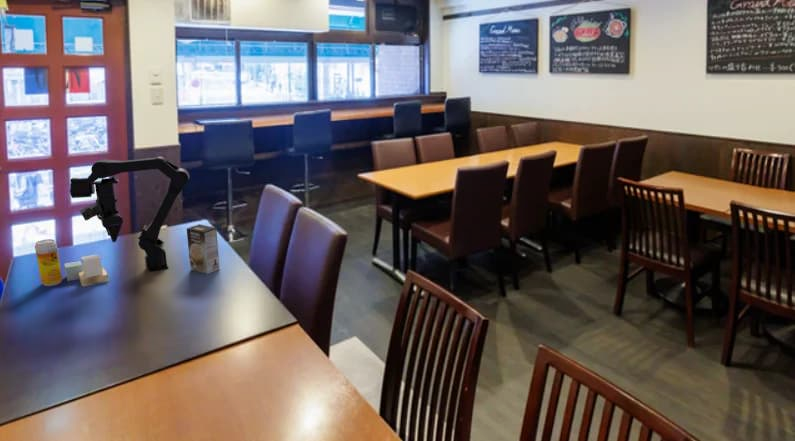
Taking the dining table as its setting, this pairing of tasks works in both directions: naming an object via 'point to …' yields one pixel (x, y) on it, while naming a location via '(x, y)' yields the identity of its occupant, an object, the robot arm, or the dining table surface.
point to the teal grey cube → (73, 270)
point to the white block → (92, 265)
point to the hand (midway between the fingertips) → (112, 238)
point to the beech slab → (93, 278)
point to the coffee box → (203, 248)
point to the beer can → (48, 262)
